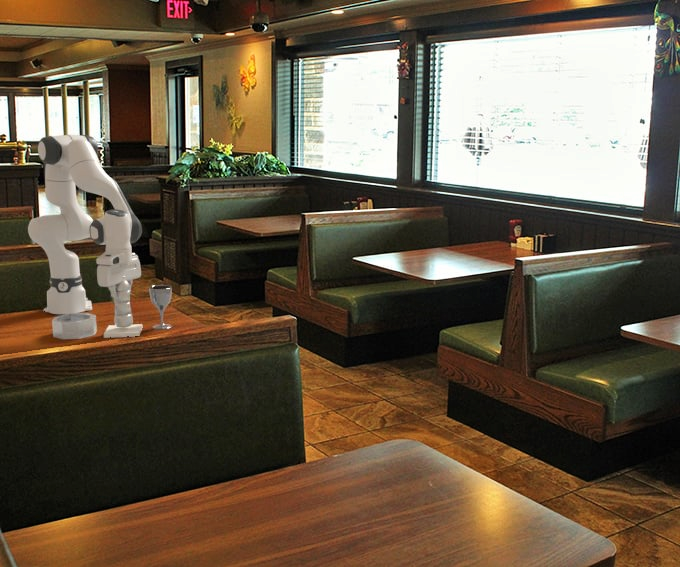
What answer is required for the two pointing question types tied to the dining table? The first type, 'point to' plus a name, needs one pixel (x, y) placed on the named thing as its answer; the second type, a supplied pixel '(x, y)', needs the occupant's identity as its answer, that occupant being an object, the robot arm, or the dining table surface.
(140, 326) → the ceramic pad
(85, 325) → the steel collar
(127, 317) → the plastic bottle
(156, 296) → the wine glass
